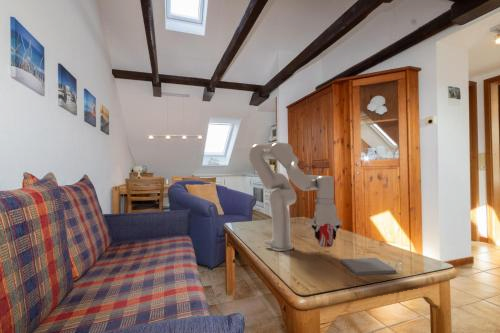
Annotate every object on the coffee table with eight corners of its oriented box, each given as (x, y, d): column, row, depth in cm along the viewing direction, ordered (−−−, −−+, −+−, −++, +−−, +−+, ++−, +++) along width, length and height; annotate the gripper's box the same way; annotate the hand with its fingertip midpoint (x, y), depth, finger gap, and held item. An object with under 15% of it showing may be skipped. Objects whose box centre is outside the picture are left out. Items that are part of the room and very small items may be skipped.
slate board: (356, 274, 95) (356, 271, 95) (341, 261, 109) (341, 259, 109) (396, 273, 96) (396, 270, 96) (376, 260, 110) (376, 257, 110)
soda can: (325, 249, 111) (325, 222, 111) (314, 244, 117) (314, 219, 117) (336, 246, 114) (336, 221, 114) (325, 242, 121) (325, 218, 121)
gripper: (309, 202, 112) (309, 241, 112) (346, 202, 113) (346, 241, 112) (305, 200, 119) (305, 236, 119) (340, 200, 120) (340, 236, 120)
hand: (325, 238), depth 116 cm, fingers closed on soda can, 7 cm apart
